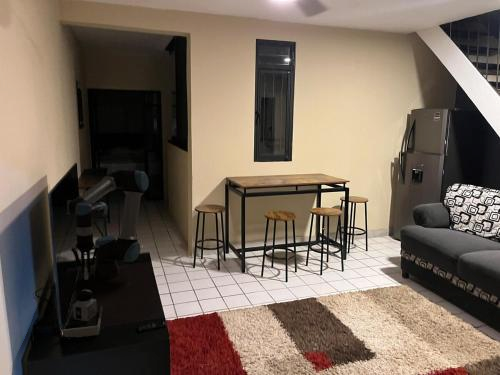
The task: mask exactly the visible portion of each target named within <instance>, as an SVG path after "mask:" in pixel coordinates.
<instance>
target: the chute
mask: <svg viewBox="0 0 500 375" xmlns="http://www.w3.org/2000/svg"><path fill="white" fill-rule="evenodd" d="M99 307H100V308H99V312H98V320H97V325H90V326H81V327H75V328H74V327H73V328H68V329H64V328H63V329H62V330H63V335H64V336H65V337H76V338H83V337H84V336H85V337H93V336H99V335H100V328H101V321H102V315H103V305H101V306H99ZM69 312H70V314H69V313H68V315H69V319H70V317H71V318H72V316H71V315H73V308H70V309H69ZM70 320H71V319H70Z"/></svg>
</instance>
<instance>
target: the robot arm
mask: <svg viewBox="0 0 500 375" xmlns="http://www.w3.org/2000/svg"><path fill="white" fill-rule="evenodd" d="M149 186H150V184H149V177H148V175H147V173H146V172H145V171H142V170H135V169H134V170H133V169H132V170H131V169H117V170H114V171H112V172H110V173H108V174H106V175H105V176H104V177H102V178H101V181H99V182H98V183H96V184H95V185H93V186H92V187H90V188H89V189H88V190H86V191H85V192H84V193H82V194H81V195H79V196H77V197H76V198H75V199H73V200H71V199H70V200H68V201H67V200H66V201H67V214H66V215H68V216H69V215H70V216H75V222H76V225H75V228H76V230H75V231H76V244H75V246H73V247H72V248H71V250H70V251H71V252H72V253H73V256H74V259H75V261H76V262H75V263H76V265H77V267H81V273H82V274H84V280H85V281H87V280H89V274H90V273H91V267H92V266H94V268H93V271H92V274H93V277H94V278H96V279H99V280H101V279H102V280H105V279H112V278H115V277H116V276H119V275H120V273H121V272H120V267H119V264H118V262H117V261H123V262H129V263H131V262H134V261H136V260H137V258H139V255H140V253H141V248H142V247H141V243H139V242H138V240H139V239H138V237H137V236H136V235H137V227H138V222H139V221H138V219H139V212H140V203H141V197H142V196H143V195H144V192H145V191H147V190H148V188H149ZM118 189H120V190H121V189H122V190H123V193H124V194H125V197H124V198H125V199H124V207H123V213H122V223H121V229H120V234H119V236H117V238H116V236H115V235H104V236H101V237H99V238H96V240H95V242H94V229H93V228H94V225H93V222H94V221H93V220H95V219H98V218H102V217H103V216H105V215H106V214H108V212H109V209H108V208H109V207H108V205H107V203H106V202H103V201H99V200H100V199H101V198H103V197H104V196H105V195H107V194H108V193H109V192H113V191H115V190H118ZM91 250H94V251H93V255H92V258H91ZM78 251H79V252H80V257H79V254H78ZM85 253H86V257H85ZM80 258H81V260H80ZM85 258H86V261H85ZM91 259H92V260H91ZM85 264H86V265H85Z"/></svg>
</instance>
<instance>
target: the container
mask: <svg viewBox="0 0 500 375" xmlns="http://www.w3.org/2000/svg"><path fill="white" fill-rule="evenodd" d="M97 306H98V305H97V299H96V298H93V294H92V291H91V290H90V289H82V290H79V291H78V292H77V293H76V302H74V303H73V304H72V309H73V312H72V315H73V316H72V317H73V320H78V321H83V322H89V321H90V320H91V319H92V318H93V317H94V316H96V315H97Z"/></svg>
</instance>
